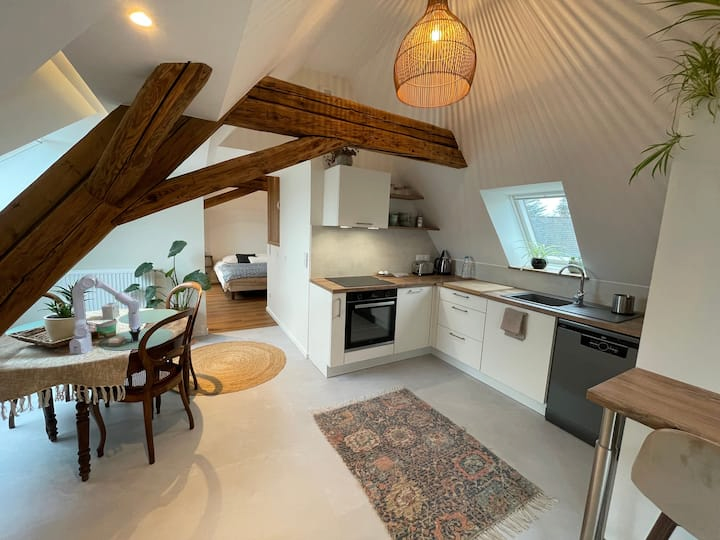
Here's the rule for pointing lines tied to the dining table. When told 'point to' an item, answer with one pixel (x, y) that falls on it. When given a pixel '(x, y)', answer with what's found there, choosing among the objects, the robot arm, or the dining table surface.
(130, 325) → the robot arm
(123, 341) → the base slab
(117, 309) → the light bulb box
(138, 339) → the cylinder
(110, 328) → the food container
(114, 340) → the top block
